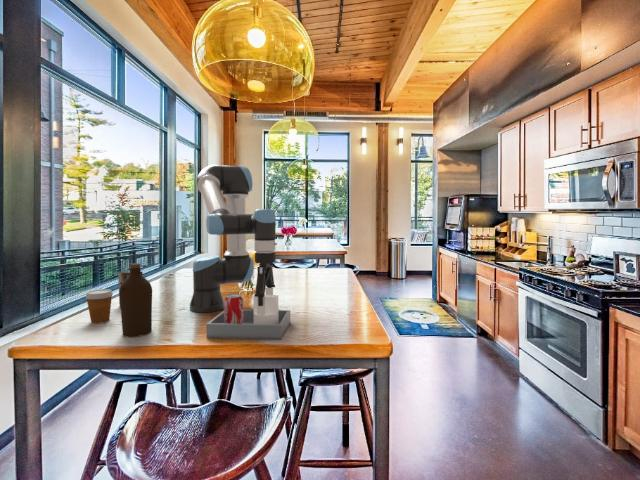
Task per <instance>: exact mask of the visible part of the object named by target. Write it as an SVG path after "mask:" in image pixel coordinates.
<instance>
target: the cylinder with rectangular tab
mask: <svg viewBox="0 0 640 480" xmlns="http://www.w3.org/2000/svg"><path fill="white" fill-rule="evenodd" d="M264 296H265V315H257V297H255V294H254V295H253V297H252V298H253V304H252V305H253V310H254V324H276V325H279V320H278V310H279V295H276V294H275V295H274V294H273V295H266V294H265V295H264Z"/></svg>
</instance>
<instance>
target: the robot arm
mask: <svg viewBox="0 0 640 480" xmlns="http://www.w3.org/2000/svg"><path fill="white" fill-rule="evenodd" d="M196 188H197V190H198V192H200V193H201V194H202V198H203V200H204V204H205V206H206V210H207V212H208V214H207V216H206V223H205V225H206V232H207V233H208V234H209V235H212V236H213V235H216V236H223V235H224V236H225V235H226V252H224V253H223V258H221V257H220V256H219V255H209V256H203V257H198V258H197V259H195V260H193V264H192V277H193V278H192V280H193V285H192V287H193V292H192V293H193V294H192V296H191V300H190V302H189V310H190V311H191V312H194V313H210V312H211V313H212V312H217V311H221V310H224V300H225V298H224V297H223V294H222V291H221V285H225V284H226V285H228V284H242V283H247V282H250V281H251V279H252V277H253V275H254V272H255V271H254V269H255V268H254V267H255V263H256V264H259V267H257V277H256V285H255V286H256V288H255V293H254V295H255V297H257V315H265V296H264V295H274V288H276V284H275V280H274V271H273V263H276V261H277V260H276V257H277V255H276V252H275V251H276V246H277V245H278V242H276V231H277V230H276V221H277V219H276V210H275V209H272V208H267V209H265V208H257V209H255V210H254V213H250V214H249V213H246V199H247V198H248V197H249V193H250V192H252V190H253V177H252V172H251V171H250V169H249V168H248V167H247V166H243V165H242V166H241V165H229V164H228V165H226V164H225V165H224V164H210V165H208V166H206V167H204V168H203V169H201V171H200V172H199V173H198V175H197V177H196ZM247 235H254V258H253V257H251V256H250V253H249V252H248V250H247Z"/></svg>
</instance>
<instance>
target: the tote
mask: <svg viewBox="0 0 640 480" xmlns="http://www.w3.org/2000/svg"><path fill="white" fill-rule="evenodd" d="M278 320H279V325H276V324H254V309H244V323H243V324H228V323H224V310H223V311H221V312H220V313H219V314H217V315H216V316H215V317H213V318H212V319H211V320H210V321H208V322H207V323H206V324H205V325H206V330H205V331H206V339H219V338H236V339H235V340H261V339H263V341H264V340H268V341H269V340H270V341H282V339H283V338H284V336H285V334H286V332H287V331H288V328H289V326H290V324H291V310H289V309H288V310H287V309H278Z"/></svg>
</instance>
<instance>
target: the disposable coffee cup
mask: <svg viewBox="0 0 640 480" xmlns="http://www.w3.org/2000/svg"><path fill="white" fill-rule="evenodd" d="M112 291H113V290H111V289H107V288H105V289H103V288H102V289H95V290H89V291H87V292H86V293H85V295H84V296H85V299H86V302H87V307H88V313H89V318H90V323H91V322H92V323H91V324H102V323H101V322H104V323H107V322H109V321H110V320H111V318H110V317H111V307H112V297H113V295H114V293H113V292H112ZM108 320H109V321H108ZM106 321H107V322H106Z"/></svg>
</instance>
